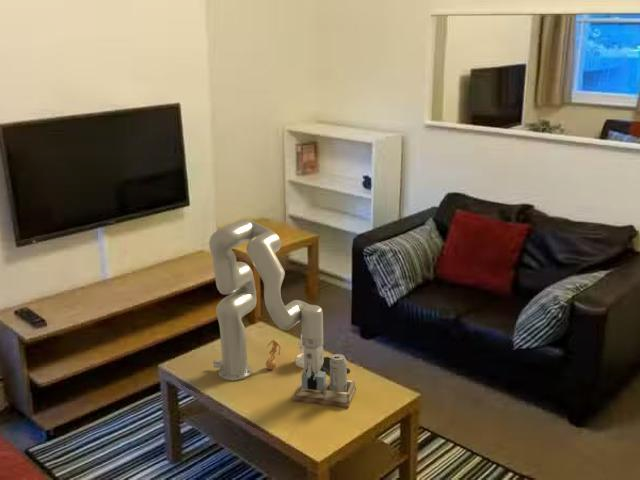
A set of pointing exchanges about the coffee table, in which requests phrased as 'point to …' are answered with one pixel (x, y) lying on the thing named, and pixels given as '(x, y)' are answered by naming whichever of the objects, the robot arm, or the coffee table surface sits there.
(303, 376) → the wing block
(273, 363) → the figurine
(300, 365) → the character figurine
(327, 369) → the phone
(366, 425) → the coffee table surface
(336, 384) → the energy drink can
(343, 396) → the jig
